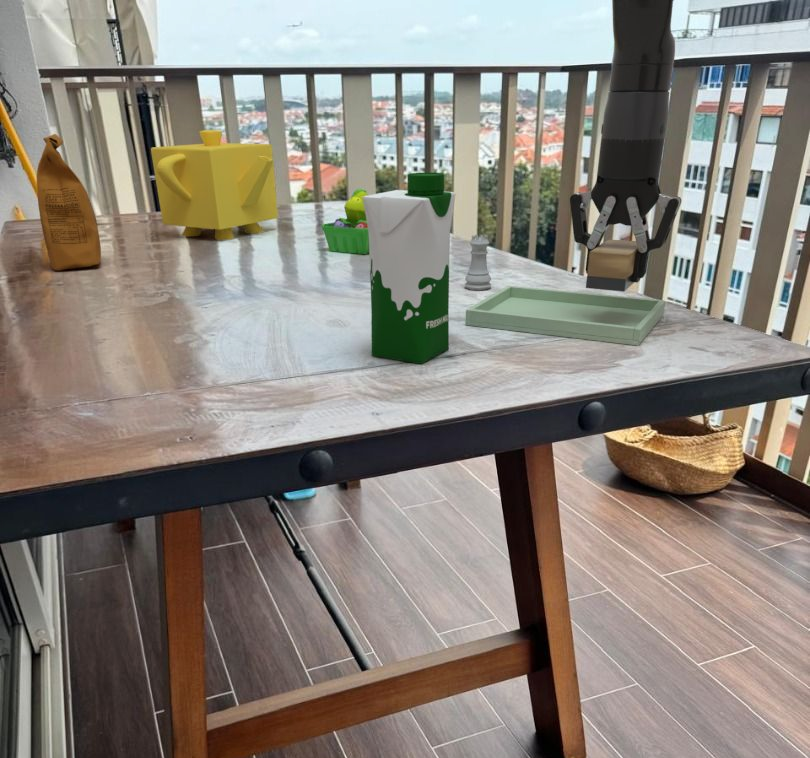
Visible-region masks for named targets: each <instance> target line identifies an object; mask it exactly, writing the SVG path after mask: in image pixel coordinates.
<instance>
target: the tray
mask: <svg viewBox="0 0 810 758" xmlns="http://www.w3.org/2000/svg"><path fill="white" fill-rule="evenodd" d="M665 307H666V300H663V299H656V298H655V299H653V298H644V297H635V296H622V295H611V294H602V293H601V294H600V293H592V292H591V293H589V292H578V291H569V290H558V289H549V288H537V287H527V286H518V285H517V286H516V285H506V286H504V287H503V288H501V289H500V290H498V291H496V292H495V293H493V294H491V295H489V296H487V297H485V298H484V299H482V300H480V301H479V302H478V303H477V302H476V303H475V304H474V305H472V306H470V307H469V308H467V309H465V326H470V327H479V328H486V329H496V330H504V331H510V332H511V331H513V332H519V333H520V332H521V333H528V334H529V333H530V334H537V335H538V334H539V335H544V336H545V335H546V336H555V337H561V338H571V339H579V340H588V341H594V342H595V341H596V342H606V343H613V344H621V345H630V346H639V345H640V344H641V343H642V342H643V341H644V339H645V338H646V337H647V336H648V334H649V333H650V332H651V331H652V330H653V328H654V327H655V326H656V325H657V324H658V323H659V321H661V319H662V317H664V314H665Z"/></svg>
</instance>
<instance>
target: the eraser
mask: <svg viewBox="0 0 810 758" xmlns="http://www.w3.org/2000/svg"><path fill="white" fill-rule="evenodd" d="M637 252H638V248H637V243H636V240H635V241H634V240H624V239H623V240H622V239H607V240H606V241H604V242H603V243H600V246H598V247H597V248H595V249H593V250H592V251H590V255H589V264H588V273H587V275H586V281H585V289H590V290H591V289H593V290H602V291H613V292H622V293H623V292H626V291H627V290H628V289H629V288H630V287H631V286H633V284H634V283H635V282H632V276H633V269H634V262H635V255H636V253H637Z"/></svg>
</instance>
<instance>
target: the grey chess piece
mask: <svg viewBox="0 0 810 758" xmlns="http://www.w3.org/2000/svg"><path fill="white" fill-rule="evenodd" d="M469 244H470V246H471V251H470V252H469V253H470V254H471V259H470V264H469V265H470V266H469V270H468V271H467V274H466V275H465V278H464V280H465V281H466V282H465V283H464V286H465V288H466V289H467V290H470V291H486V290H489V289H490V288H491V286H492V283H491V281H492V276H491V275H490V274H489V273H490V271H489V270H488V264H487V263H488V262H487V255H488V253H489V252H488V250H487V248H488V246H489V245H490V241H489V237H488V235H487V234H485V235H484V234H480V235H478V234H474V235H471V239H470V241H469Z"/></svg>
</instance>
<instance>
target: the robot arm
mask: <svg viewBox="0 0 810 758" xmlns="http://www.w3.org/2000/svg"><path fill="white" fill-rule="evenodd" d="M611 1H612V2H611V4H612V5H611V7H612V10H611V11H612V32H613V52H612V59H611V66H610V67H611V69H610V77H609V84H608V85H609V86H608V91H609V92H608V93H607V99H606V102H605V107H604V111H603V118H602V119H603V120H602V124H601V129H600V130H601V131H600V134H601V136H600V145H599V154H598V161H597V162H598V164H597V172H596V180H595V184H594V186H593V187H592V189H591V190H590V191H589V190H588V191H585V192H584V191H583V192H579V191H578V192H575V193H573V194H571V196H570V197H569V204H570V213H571V214H570V215H571V223H572V224H571V225H572V231H573V240H574V242H575V243H577V244H582V245H583V246H585V247H586V249H587V251H586V252H587V253H586V262H585V273H586V274H587V273H588V264H589V255H590V251H592V250H593V249H595V248H597V247H598V246H600V245H601V244H602V240H603V239H604V236H605V234H606V233H607V231H608V229H609V228H610V226H611V225H613V226H614V225H618V224H621V225H623V226H627V227H628V226H629V227H631V229H632V233H633V236H634V239H635V241H636V243H637V248H638V252H637V253H636V255H635V262H634V269H633V276H632V282H634V283H639V282H640V281H641V279H643V278H644V277H645V275H646V274H647V271H648V263H649V257H650V252H651V251H652V250H656V249H660V248H662V247H663V246H664V245H665V244H666V242H667V240H668V237H669V236H670V232H671V230H672V226H673V225H674V222H675V220H676V217H677V215H678V212H679V209H680V207H681V204H682V197H680V196H674V197H673V196H670V195H667V194H663V193H662V192H661V189H660V185H659V180H660V173H661V167H662V159H663V153H664V147H665V140H666V134H667V127H668V120H669V111H670V110H669V109H670V91H671V87H672V86H671V85H672V77H673V71H674V65H675V58H676V57H675V56H676V39H675V37H674V35H673V33H672V17H673V7H674V1H675V0H611ZM591 201H592V202H593V204H594V206H595V208H596V210H597V211H598V213H599V215H598V217H597V219H596V221H595V224H594V226H593V229H592V232H591V233H590V232H589V231H588V229H589V228H588V222H587V212H586V210H588V209H589V208H590V203H591ZM657 203H658V205H659V213H660V214H661V215H662V218H661V219H660V223H659V225H658V228H657V230H656V233H655V236H654V237H652V238H651V236H650V231H649V229H650V227H649V222H648V218H647V215H648V214H649V212H650V211H651V210H652V209H653V208H654V207H655V206H656V204H657Z"/></svg>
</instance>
